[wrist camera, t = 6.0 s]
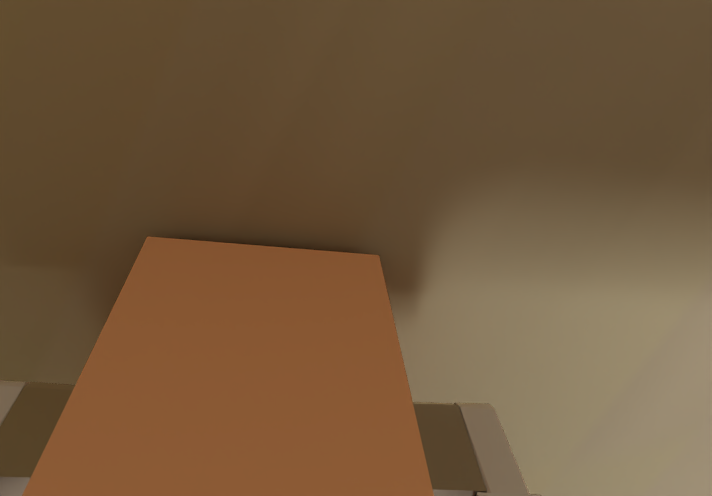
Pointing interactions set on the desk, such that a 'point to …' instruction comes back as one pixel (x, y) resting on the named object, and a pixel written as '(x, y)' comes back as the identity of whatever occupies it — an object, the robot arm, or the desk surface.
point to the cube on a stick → (241, 382)
